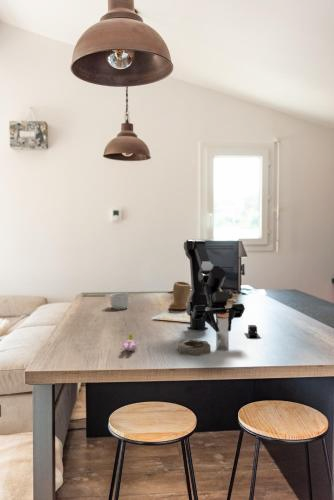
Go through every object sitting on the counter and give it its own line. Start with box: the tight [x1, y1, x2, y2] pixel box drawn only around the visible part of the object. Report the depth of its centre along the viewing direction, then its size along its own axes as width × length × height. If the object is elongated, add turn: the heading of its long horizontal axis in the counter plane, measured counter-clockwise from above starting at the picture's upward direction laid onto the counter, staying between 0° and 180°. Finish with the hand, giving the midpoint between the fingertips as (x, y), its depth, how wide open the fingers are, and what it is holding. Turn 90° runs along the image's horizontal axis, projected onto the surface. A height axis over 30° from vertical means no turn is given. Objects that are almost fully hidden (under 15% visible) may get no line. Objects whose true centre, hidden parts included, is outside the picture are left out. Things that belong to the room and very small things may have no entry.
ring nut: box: [177, 339, 211, 356], centre depth 151 cm, size 11×12×2 cm
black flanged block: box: [243, 324, 262, 340], centre depth 173 cm, size 12×7×5 cm, turn 178°
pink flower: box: [122, 333, 141, 352], centre depth 153 cm, size 6×6×15 cm
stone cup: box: [168, 280, 192, 310], centre depth 238 cm, size 15×12×15 cm
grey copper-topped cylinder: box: [215, 313, 230, 351], centre depth 154 cm, size 5×5×12 cm
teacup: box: [109, 292, 131, 311], centre depth 240 cm, size 14×11×8 cm
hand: (223, 331), depth 152 cm, fingers closed on grey copper-topped cylinder, 4 cm apart
